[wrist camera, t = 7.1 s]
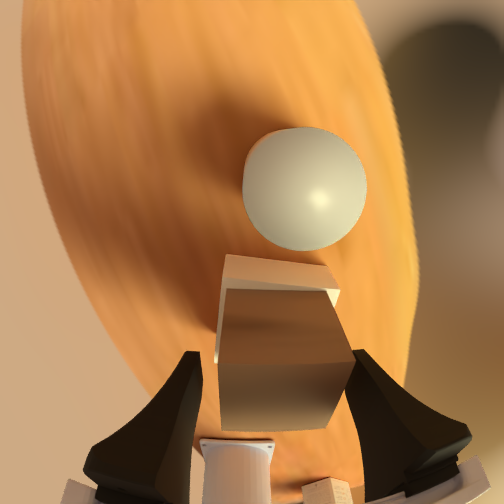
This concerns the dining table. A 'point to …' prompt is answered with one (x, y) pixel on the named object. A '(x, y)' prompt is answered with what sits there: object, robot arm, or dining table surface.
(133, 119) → the dining table surface
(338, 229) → the cream smooth round part
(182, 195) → the dining table surface
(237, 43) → the dining table surface
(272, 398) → the walnut cube
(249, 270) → the cream block
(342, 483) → the small box
